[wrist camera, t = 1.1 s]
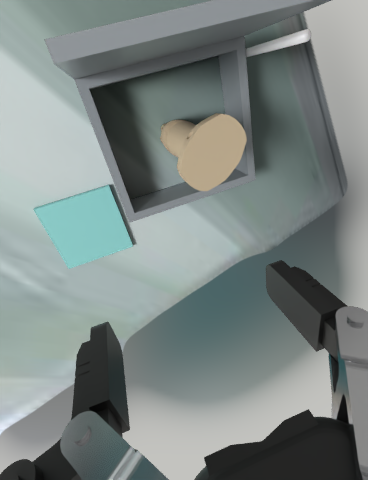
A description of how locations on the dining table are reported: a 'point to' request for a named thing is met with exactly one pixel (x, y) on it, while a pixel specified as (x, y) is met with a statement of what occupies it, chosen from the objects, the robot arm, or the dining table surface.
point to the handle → (205, 149)
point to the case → (173, 55)
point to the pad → (85, 226)
